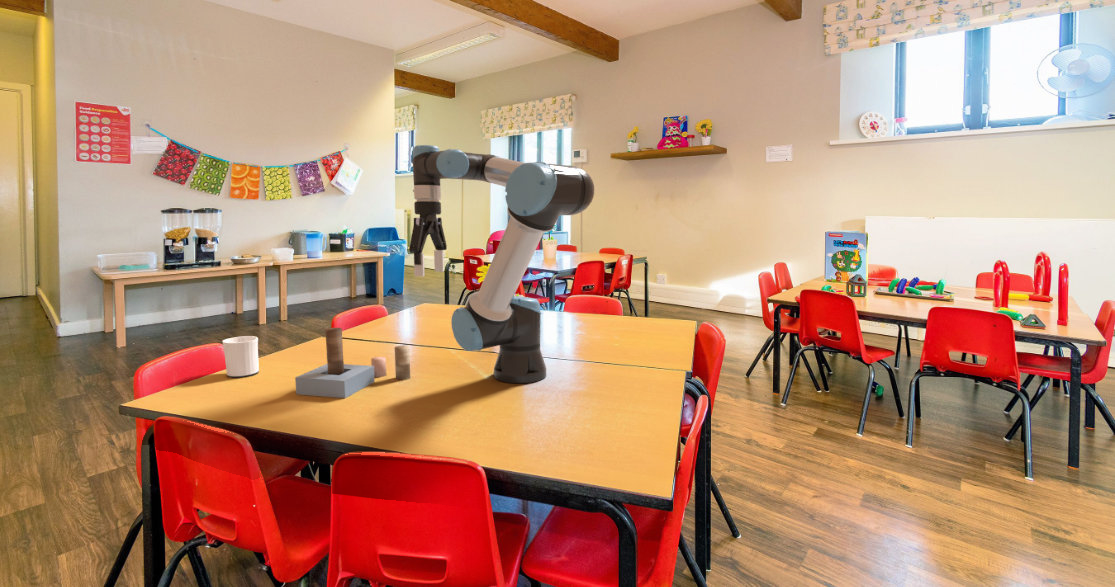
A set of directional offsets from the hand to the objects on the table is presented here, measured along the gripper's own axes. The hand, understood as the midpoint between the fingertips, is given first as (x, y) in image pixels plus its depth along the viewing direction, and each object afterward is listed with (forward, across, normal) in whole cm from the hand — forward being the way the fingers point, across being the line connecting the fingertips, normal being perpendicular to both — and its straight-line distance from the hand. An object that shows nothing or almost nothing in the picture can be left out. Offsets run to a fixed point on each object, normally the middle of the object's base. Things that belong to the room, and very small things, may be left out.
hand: (429, 273), depth 160 cm
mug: (+29, +17, -52) cm, 62 cm away
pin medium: (+29, +11, -4) cm, 31 cm away
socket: (+29, +23, -17) cm, 41 cm away
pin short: (+29, +10, -12) cm, 33 cm away
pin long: (+29, +23, -17) cm, 41 cm away
